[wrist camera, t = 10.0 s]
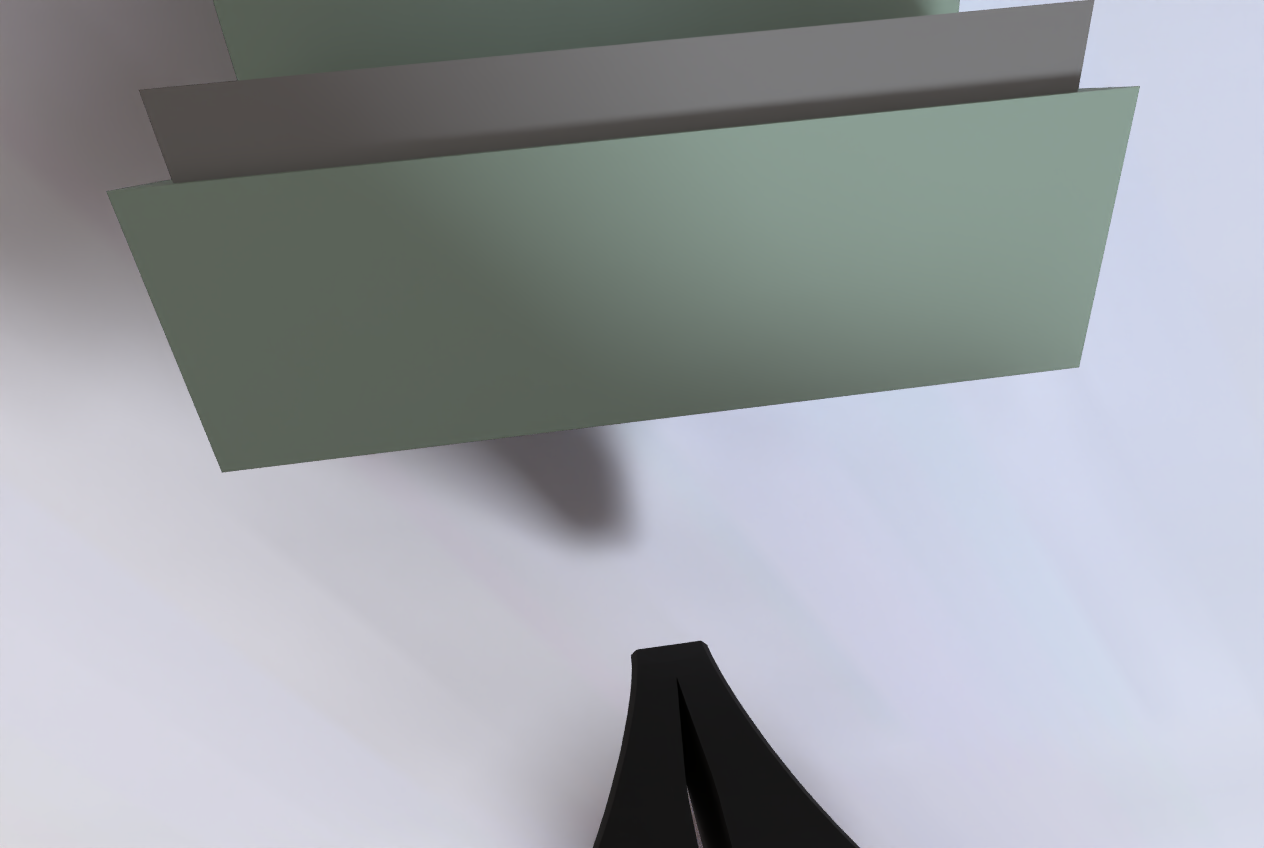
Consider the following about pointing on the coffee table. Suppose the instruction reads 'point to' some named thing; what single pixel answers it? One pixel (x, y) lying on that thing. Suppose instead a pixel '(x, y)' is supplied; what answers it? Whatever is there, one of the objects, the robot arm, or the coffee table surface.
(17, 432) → the coffee table surface
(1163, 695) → the coffee table surface
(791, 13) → the vise
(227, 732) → the coffee table surface
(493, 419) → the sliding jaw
